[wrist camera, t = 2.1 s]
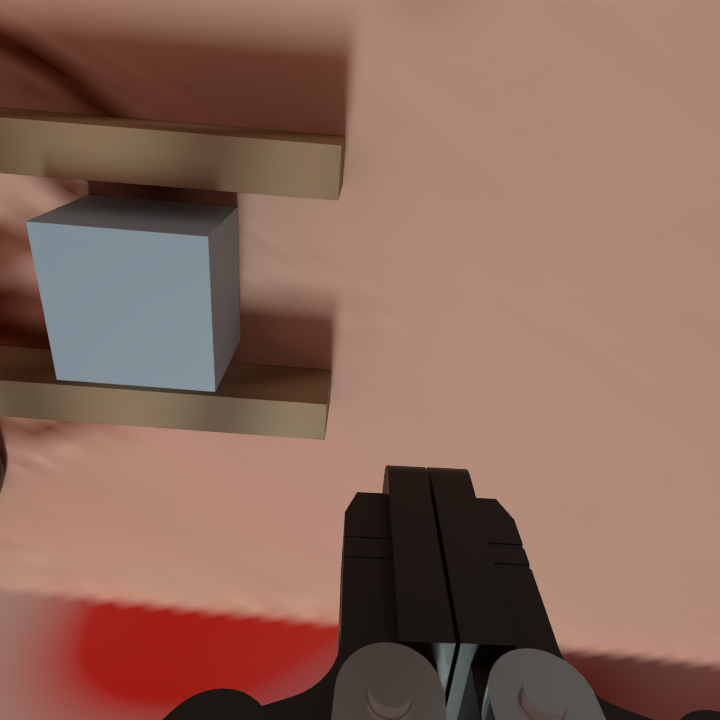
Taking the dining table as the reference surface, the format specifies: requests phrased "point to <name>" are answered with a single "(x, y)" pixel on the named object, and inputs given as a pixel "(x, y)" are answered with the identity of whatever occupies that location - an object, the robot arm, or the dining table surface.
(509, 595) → the robot arm
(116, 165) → the track
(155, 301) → the block
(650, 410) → the dining table surface
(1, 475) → the supplement bottle
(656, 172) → the dining table surface
